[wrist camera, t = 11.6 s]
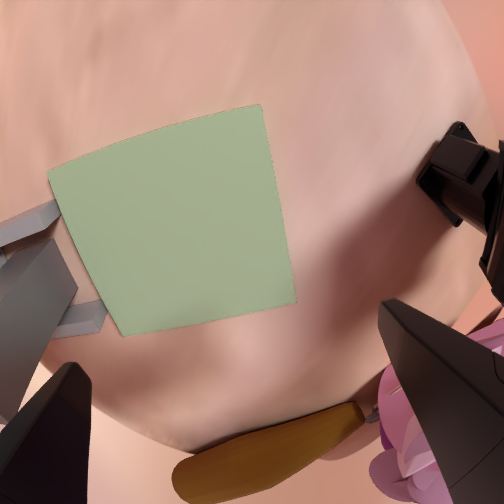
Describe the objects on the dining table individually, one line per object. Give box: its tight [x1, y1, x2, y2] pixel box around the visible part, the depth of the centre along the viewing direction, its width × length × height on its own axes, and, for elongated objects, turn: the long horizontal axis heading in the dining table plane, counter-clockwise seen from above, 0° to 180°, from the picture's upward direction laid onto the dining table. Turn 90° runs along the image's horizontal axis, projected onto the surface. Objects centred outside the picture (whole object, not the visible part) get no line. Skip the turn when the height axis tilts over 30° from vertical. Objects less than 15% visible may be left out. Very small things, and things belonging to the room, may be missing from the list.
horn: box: [172, 402, 366, 504], centre depth 32 cm, size 8×10×25 cm
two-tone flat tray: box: [0, 104, 297, 339], centre depth 19 cm, size 23×14×2 cm, turn 102°
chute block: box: [0, 238, 78, 425], centre depth 15 cm, size 4×4×13 cm
